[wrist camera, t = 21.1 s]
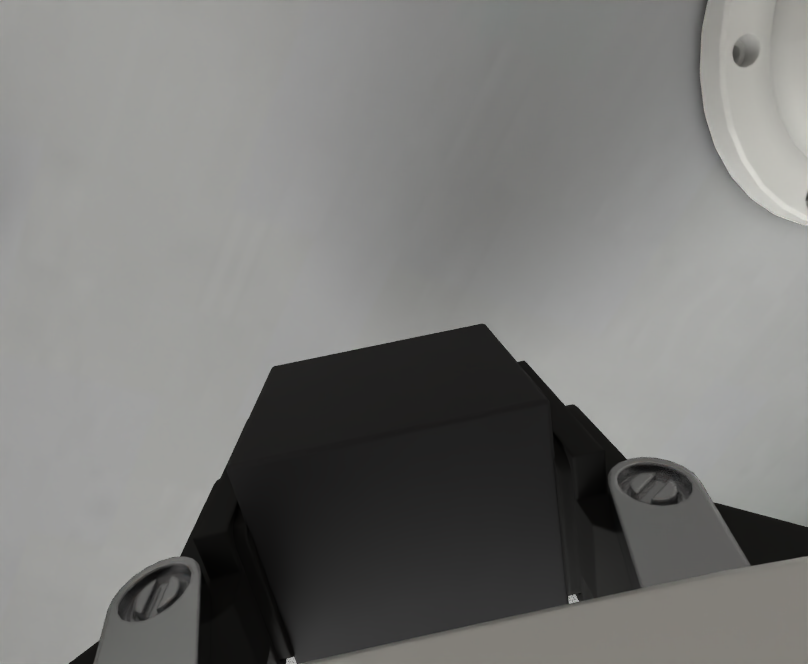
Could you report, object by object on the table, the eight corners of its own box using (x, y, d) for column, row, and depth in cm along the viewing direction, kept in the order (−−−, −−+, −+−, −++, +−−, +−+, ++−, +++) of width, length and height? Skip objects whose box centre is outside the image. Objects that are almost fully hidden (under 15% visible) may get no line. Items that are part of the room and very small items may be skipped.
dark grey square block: (485, 321, 11) (551, 399, 7) (508, 498, 12) (573, 637, 9) (271, 365, 11) (223, 468, 7) (323, 538, 12) (306, 697, 9)
